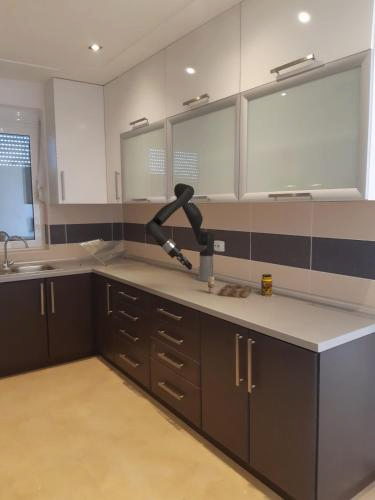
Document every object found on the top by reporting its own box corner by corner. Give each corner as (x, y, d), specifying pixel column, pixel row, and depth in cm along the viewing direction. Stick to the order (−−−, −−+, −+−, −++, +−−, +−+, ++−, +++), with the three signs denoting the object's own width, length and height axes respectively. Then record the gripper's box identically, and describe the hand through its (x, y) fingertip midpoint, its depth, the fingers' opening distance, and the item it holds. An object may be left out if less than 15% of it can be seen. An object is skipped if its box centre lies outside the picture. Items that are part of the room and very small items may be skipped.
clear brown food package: (220, 296, 222) (220, 289, 221) (226, 290, 235) (226, 284, 234) (246, 298, 216) (246, 290, 216) (251, 292, 229) (251, 285, 229)
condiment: (264, 297, 218) (264, 276, 217) (256, 294, 226) (256, 273, 225) (275, 296, 221) (276, 275, 219) (267, 292, 229) (267, 272, 227)
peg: (207, 293, 228) (206, 276, 227) (209, 292, 231) (209, 275, 230) (213, 294, 227) (213, 277, 225) (215, 292, 230) (215, 276, 229)
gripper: (175, 245, 219) (195, 265, 220) (176, 242, 233) (195, 261, 234) (165, 254, 220) (186, 274, 221) (167, 251, 234) (187, 270, 235)
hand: (191, 267), depth 228 cm, fingers open, 8 cm apart
